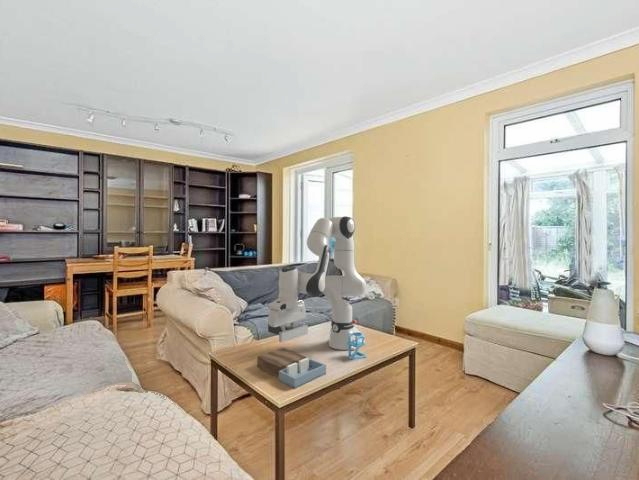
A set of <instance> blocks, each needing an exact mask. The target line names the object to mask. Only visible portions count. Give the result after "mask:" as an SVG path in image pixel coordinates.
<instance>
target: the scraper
mask: <svg viewBox="0 0 639 480" xmlns="http://www.w3.org/2000/svg"><path fill="white" fill-rule="evenodd" d="M285 329H286V330H285V331H282V329H281V327H280V326H278V327H271V326H269V324H268V323H267V332H268V333H271V334H274V335H277V336H278V335H279V336H278V337H279V338H278V339H279V340H278V341H279V342H280V343H284V342H286V341H291V340H293V339H294V340H295V339H296V338H300V337H302V336H303V337H304V336H306V335H308V334H309V331H308V330H309V326H308V324H303V325H299V326H296V327H294V328H293V327H290V325H289V326H288V325H285Z"/></svg>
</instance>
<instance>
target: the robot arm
mask: <svg viewBox="0 0 639 480" xmlns="http://www.w3.org/2000/svg"><path fill="white" fill-rule="evenodd" d="M355 229H356V224H355V221H354V219H353V218H352V217H350V216H346V215H345V216H334V217H330V218H326V217H320V218H319V219H317V220H316V221H315V223H314V225H313V227H312V228H311V230H310V232H309V234H308V236H307V239H306V246H307V249H308V250H309V251H310V252H311V253H312V254H314V255H315V256H317V257H318V262H317V265H316V269H315V272H314V273H308V272H302V271H301V270H298V267H296V266H291V265H290V266H285V267H282V268H281V269H280V272H279V276H278V289H279V290H278V291H279V293H278V298H276V299H275V300H274V301H272V302H270V303H269V305H268V306H269V311H268V315H267V316H268V318H267V325H268V324H269V326H271V327H278V326H280V327H281V329H282V331H285V330H286V329H285V326H287V325H289V324H290V325H289V327H293V328H295V325H296V323H297V322H299V321H303V320H305V319H306V317H307V315H306V313H307V311H306V306H305V305H306V304H305V300H303V299H299V294H300V293H301V294H305V295H309V296H312V297H319V296H321V295H322V294H323V295H325V296H326V297H327V299H328V300H329V302H330V305H331V313H332V317H331V318H332V319H331V322H330V326H331V328H330V332H329V337H328V338H329V339H328V340H327V342H328V346H329V347H330V348H332V349H335V350H341V351H346V350H347V351H349V345H348V344H347V343H348V342H349V337H348V336H349V335H350V334H351V333H357V332H359V333H361V330H358V328H356V326H355V325H354V324H357V323H358V321H357V320H356V319H353V306H352V305H351V304H350V303H349V302H347V301H345V300H344V299H343V298H342V297H358V296H363V295H364V294H365V293H366V291H367V282H366V280H365V278H363V277H362V276H361V275H360V274H359V273H358V272H357V269H356V266H355V265H356V264H355V243H354V236H353V235H354V233H355V231H356V230H355ZM331 238H332V239H334V240H335V242H334V252H333V254H334V255H333V264H334V266H335V267H336V268H338V269H339V270H341V271H342V272H343V273H344V275H335V274H334V275H328V270H329V266H330V262H331V254H332V249H331V248H330V241H331ZM355 337H356V336H355V335H352V336H351V337H350V339H351V341H354V340H355ZM357 338H358V336H357ZM362 339H363V338H360V339H359V340H358V341H360V342H362ZM364 343H365V344H366V340H365V339H364ZM351 351H356V348H355V347H353V346H351Z"/></svg>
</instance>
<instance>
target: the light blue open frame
mask: <svg viewBox="0 0 639 480" xmlns="http://www.w3.org/2000/svg"><path fill="white" fill-rule="evenodd" d="M352 335H355V336H356V337H355V340H354V341H351V339H350V337H351V336H352ZM357 336H358V338H357ZM348 337H349V342H348V343H347V344H348V345H349V350H348V357H347V358H348V359H349V358H350V357H351V360H352V359H353V360H359V359H365V358H364V357H366V358H368V355H367V354H365V353H362V352H359V350H360V348H362V347H364V346H366V342H365V343H364V340H365V338H366V336H365V335H364V334H363V333H361V332H360V333H359V332H357V333H351V334H350V335H349V336H348ZM360 338H361V339H362V342H360V341H358V340H359V339H360ZM351 346H353V347H355V348H356V350H354V351H353V352H352V350H351ZM357 354H358V355H357ZM358 358H359V359H358Z"/></svg>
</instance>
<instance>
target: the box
mask: <svg viewBox="0 0 639 480" xmlns="http://www.w3.org/2000/svg"><path fill="white" fill-rule="evenodd" d="M308 359H309V370H307V371H304V372H302V373H300V372H299V363H298V369H297V375H296V376H294V377H293V376H291V375H289V374H287V368H285V369H283V370H280V371H279V378H278V381H279V382H281V383H282V384H285V385H287V386H289V387H291V388H292V389H297V388H299V387H302V386H303V385H306V384H307V383H309V382H312V381H314V380H316V379H318V378H320V377H322V376H324V375H326V374H327V364H325V363H323V362H320V361H317V360H315V359H312V358H308Z"/></svg>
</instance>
